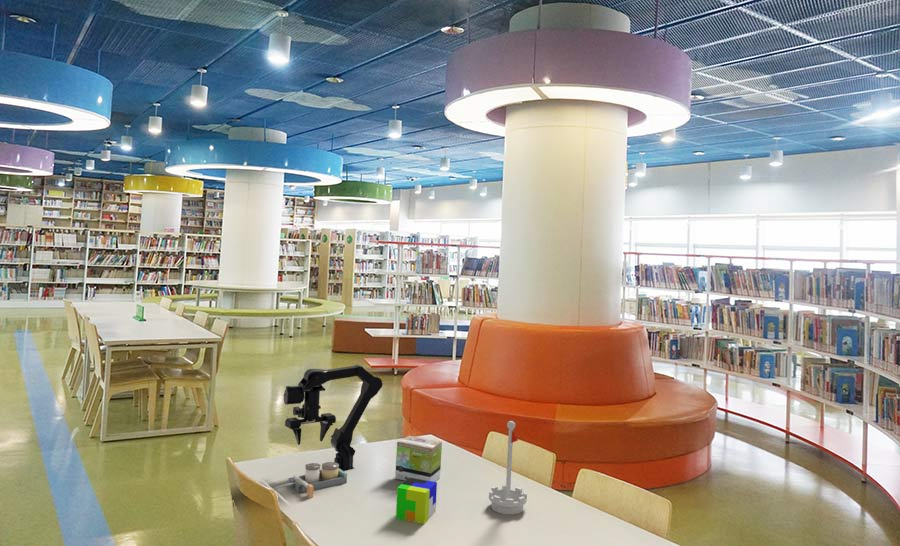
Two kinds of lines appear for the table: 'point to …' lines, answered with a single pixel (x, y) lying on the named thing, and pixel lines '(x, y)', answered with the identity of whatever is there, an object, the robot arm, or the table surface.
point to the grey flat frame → (320, 482)
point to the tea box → (418, 459)
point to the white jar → (312, 473)
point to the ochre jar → (329, 470)
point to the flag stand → (508, 486)
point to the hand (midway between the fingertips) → (310, 442)
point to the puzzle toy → (416, 500)
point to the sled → (301, 482)
